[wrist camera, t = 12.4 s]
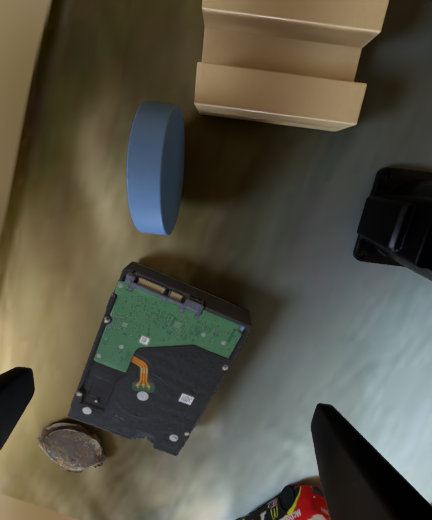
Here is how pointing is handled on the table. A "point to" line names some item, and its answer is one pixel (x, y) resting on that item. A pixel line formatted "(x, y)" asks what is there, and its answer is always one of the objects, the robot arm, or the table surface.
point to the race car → (294, 505)
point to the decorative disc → (71, 446)
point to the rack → (285, 60)
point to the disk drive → (157, 358)
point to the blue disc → (156, 167)
